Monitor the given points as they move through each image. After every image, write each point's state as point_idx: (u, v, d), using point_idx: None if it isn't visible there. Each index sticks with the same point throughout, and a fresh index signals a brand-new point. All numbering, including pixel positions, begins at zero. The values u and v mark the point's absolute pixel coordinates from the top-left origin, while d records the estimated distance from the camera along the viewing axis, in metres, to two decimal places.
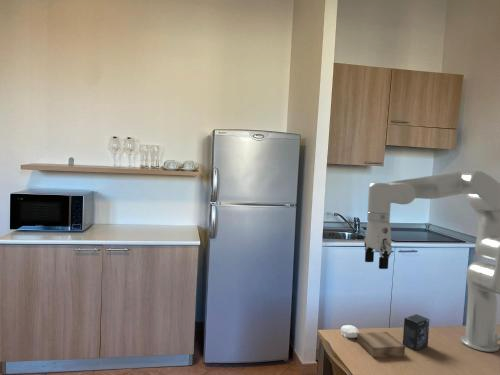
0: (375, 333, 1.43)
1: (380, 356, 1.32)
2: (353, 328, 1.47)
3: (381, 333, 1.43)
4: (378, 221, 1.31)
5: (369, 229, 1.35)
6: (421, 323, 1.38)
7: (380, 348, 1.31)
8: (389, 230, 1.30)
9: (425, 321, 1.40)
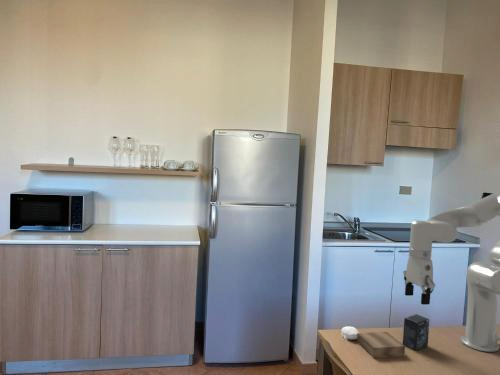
0: (375, 333, 1.43)
1: (380, 356, 1.32)
2: (353, 329, 1.46)
3: (381, 333, 1.43)
4: (421, 258, 1.37)
5: (411, 264, 1.42)
6: (421, 323, 1.38)
7: (380, 348, 1.31)
8: (431, 267, 1.36)
9: (425, 321, 1.40)
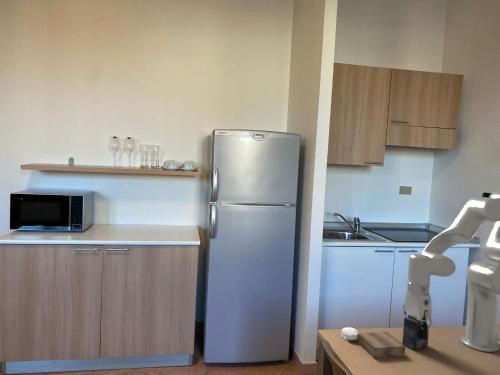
0: (375, 333, 1.43)
1: (380, 356, 1.31)
2: (353, 330, 1.45)
3: (381, 333, 1.43)
4: (419, 293, 1.38)
5: (409, 298, 1.42)
6: None
7: (381, 348, 1.31)
8: (430, 302, 1.37)
9: None
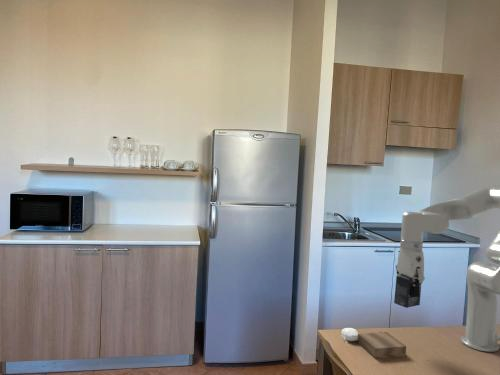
0: (375, 334, 1.42)
1: (382, 357, 1.31)
2: (353, 331, 1.45)
3: (382, 334, 1.43)
4: (412, 250, 1.36)
5: (402, 256, 1.40)
6: None
7: (382, 348, 1.31)
8: (422, 259, 1.35)
9: None
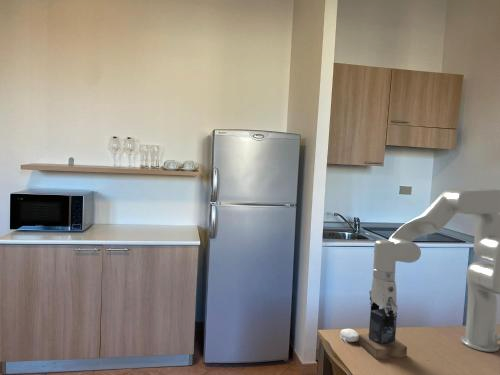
0: None
1: (383, 357, 1.31)
2: (353, 332, 1.44)
3: None
4: (384, 279, 1.34)
5: (375, 285, 1.38)
6: None
7: (383, 349, 1.31)
8: (394, 289, 1.33)
9: None
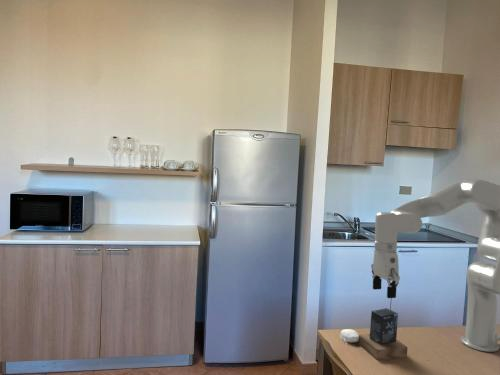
0: None
1: (383, 358, 1.30)
2: (353, 332, 1.44)
3: None
4: (385, 251, 1.33)
5: (376, 257, 1.38)
6: (387, 317, 1.34)
7: (383, 349, 1.30)
8: (396, 260, 1.32)
9: (393, 315, 1.35)
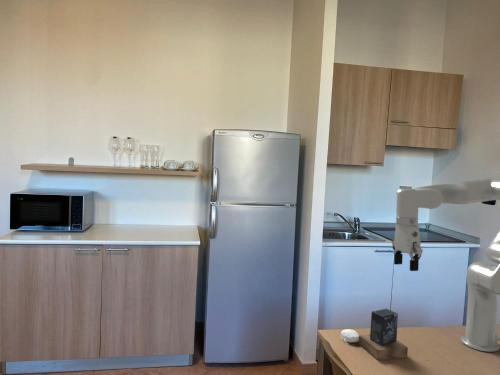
0: None
1: (383, 358, 1.30)
2: (353, 332, 1.43)
3: None
4: (407, 225, 1.37)
5: (398, 232, 1.42)
6: (388, 317, 1.34)
7: (384, 350, 1.30)
8: (418, 234, 1.37)
9: (393, 316, 1.35)
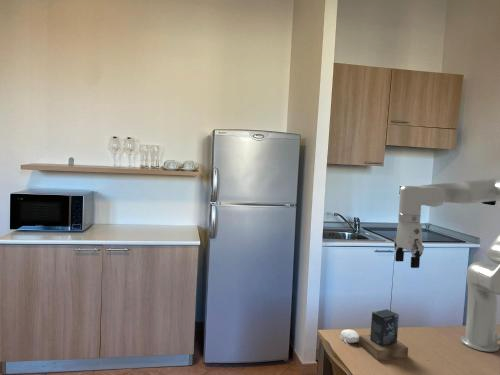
0: None
1: (384, 359, 1.30)
2: (353, 333, 1.43)
3: None
4: (410, 222, 1.38)
5: (400, 229, 1.42)
6: (388, 318, 1.33)
7: (384, 350, 1.30)
8: (420, 231, 1.37)
9: (394, 317, 1.34)
